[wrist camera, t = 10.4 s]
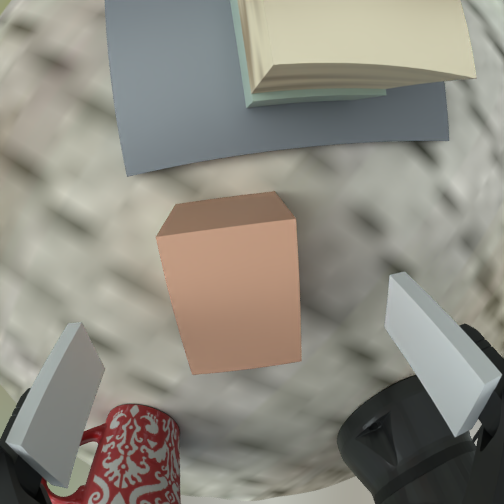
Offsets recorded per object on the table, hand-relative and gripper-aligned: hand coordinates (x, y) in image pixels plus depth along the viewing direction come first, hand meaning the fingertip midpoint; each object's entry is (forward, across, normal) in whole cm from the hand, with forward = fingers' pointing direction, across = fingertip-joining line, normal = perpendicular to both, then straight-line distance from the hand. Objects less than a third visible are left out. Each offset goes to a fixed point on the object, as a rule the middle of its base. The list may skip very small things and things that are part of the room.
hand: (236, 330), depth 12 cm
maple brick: (+3, -5, -13) cm, 14 cm away
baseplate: (+8, -5, -12) cm, 16 cm away
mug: (+8, +13, +16) cm, 22 cm away
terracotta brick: (+8, 0, +1) cm, 8 cm away
